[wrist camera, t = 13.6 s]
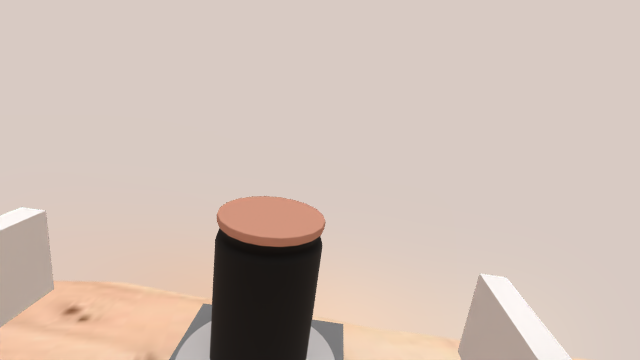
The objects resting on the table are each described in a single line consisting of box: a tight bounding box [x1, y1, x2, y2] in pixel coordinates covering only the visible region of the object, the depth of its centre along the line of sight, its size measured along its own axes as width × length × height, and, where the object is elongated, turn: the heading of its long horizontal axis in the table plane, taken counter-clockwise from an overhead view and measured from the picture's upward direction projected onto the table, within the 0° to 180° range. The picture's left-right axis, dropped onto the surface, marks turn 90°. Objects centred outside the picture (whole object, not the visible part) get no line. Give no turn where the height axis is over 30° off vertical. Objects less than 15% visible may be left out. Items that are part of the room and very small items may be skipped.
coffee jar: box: [210, 196, 325, 360], centre depth 38 cm, size 11×11×18 cm
